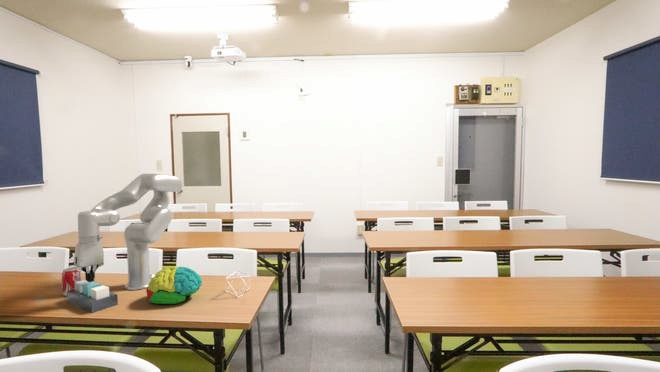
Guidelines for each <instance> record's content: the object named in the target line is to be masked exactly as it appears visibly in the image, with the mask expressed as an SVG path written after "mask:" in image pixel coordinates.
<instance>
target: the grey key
mask: <svg viewBox="0 0 660 372" xmlns="http://www.w3.org/2000/svg"><path fill="white" fill-rule="evenodd" d="M91 282H92V281H91ZM91 282H88V281H87V280H86V278H85V279H82V280H81V281H77V282H75V292H77V293H82V292H83V289H82V285H83V284H87V283H91Z"/></svg>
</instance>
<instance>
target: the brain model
mask: <svg viewBox="0 0 660 372" xmlns="http://www.w3.org/2000/svg"><path fill="white" fill-rule="evenodd" d="M155 274H156V275H155ZM155 274H154V275H155V276H154V277H153V278H152V280H151V281H150V283H149V285H148V287H147V288H145V289H146V290H145V291H146V292H145V293H146V296H147V300H148V301H149V302H150V303H151V304H156V305H157V304H158V305H159V304H163V305H176V304H180V303H183V302H184V301H185V300H186V298H187V297H189V296H191V295H193V294H195V293H197V292H198V291H199V290H200V288H201V286H202V285H203V280H202V276H200V274H199V273H197V272H196V271H195V270H194V269H192V268H190V267H187V266H176V265H175V266H168V267H164V268H161V270H159V271H157V272H156V273H155Z"/></svg>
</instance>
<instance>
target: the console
mask: <svg viewBox="0 0 660 372" xmlns="http://www.w3.org/2000/svg"><path fill="white" fill-rule="evenodd" d="M66 300H67V302H68V303H70V304H72V305H74V306H76V307H79V308H81V309H83V310H84V311H87V312H90V313H91V314H93V313H97V312H99V311H103V310H105V309H109V308H111V307H115V306H118V304H119V303H118V301H119V300H118V293H115V292H112V291H110V290H109V296H108V297H105V298H101V299H98V300H94V299H91V296H88V297H87V296H84V295H83V292H82V293H77V292H75V289H74V290H70V291H67V296H66Z"/></svg>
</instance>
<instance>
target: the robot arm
mask: <svg viewBox="0 0 660 372" xmlns="http://www.w3.org/2000/svg"><path fill="white" fill-rule="evenodd" d="M182 188H183V181H182V178H180V177H179V176H176V175H169V174H161V173H142V174H139V175H138V176H137V177H135V178H134V179H133V180H131V182H130V183H129V184H127V185H126V186H125V187H124V188H123V189H122V190H120V191H117V192H116V193H113V194H112V195H109V196H108V197H106V198H104V199H103V200H101V201H100V202H98V203H97V204H95V206H94V207H92V208H91V210H84V211H79V213H78V214H77V234H78V241H77V242H78V243H76V245H75V248H74V255H73V256H74V257H73V265H74V266H75V270H77V271H80V272H81V271H82V272H84V275H85V276H84V277H85V279H86V280H87V281H88V282H91V281H92V282H95V278H96V272H97V270H98V268H99V267H103V266H104V265H105V262H104V261H105V254H104V247H103V243H102V241H101V239H103V238H104V237H103V235H102V234H100V227H112V226H114V225H116V224H118V223H119V222H120V220H121V216H120V215H121V214H120V213H119V212H118V211H116V210H118V209H122V208H126V207H129V206H132V205H135V204H136V203H137V202H138V201H139V200H141V199H142V198H143V197H144V195H146V194H147V193H149V192H150V191H153V197H152V199H151V200H150V201H149V202H148V204H147V205H146V206H145V208H144V209H143V210H142V211H141V213H140V216H139V219H140V220H139V221H141V222H140V223H139V222H136V223H135V222H134V223H130V224H129V225H127V226H126V227H125V229H124V232H123V233H124V235H123V237H124V240H125V244H126V253H127V257H126V259H127V276H128V277H127V281H128V282H127V283H125V284H124V288H125V290H127V291H128V290H130V291H137V290H143V289H147V287H148V285H149V283H150V281H151V280H152V278H153V277H154V276H155V275H156V274H157V273H155V274H154V273H152V274H151V271H150V269H151V268H150V249H149V245H152V244H155V243H156V242H157V241H159V239H160V238H161V236H162V235H163V234H164V233H165V231H166V229H168V227H169V225H170V223H172V219H173V217H172V216H173V214H172V211H171V210H170V209H169V204H170V196H169V192H170V193H175V192H179V191H181V189H182Z"/></svg>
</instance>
